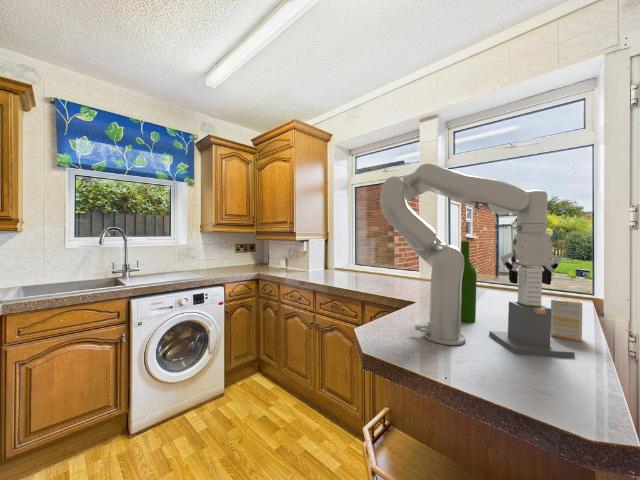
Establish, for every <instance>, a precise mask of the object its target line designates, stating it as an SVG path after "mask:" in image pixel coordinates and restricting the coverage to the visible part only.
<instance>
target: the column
mask: <svg viewBox="0 0 640 480" xmlns="http://www.w3.org/2000/svg"><path fill="white" fill-rule="evenodd" d="M542 271H543V268H542V267H541V266H523V265H520V266H519V267H518V283H517V284H518V285H517V301H516V302H517V304H519V305H522V306H524V307H542V306H541V305H542V291H543V289H542V288H543V287H542V286H543V283H542Z"/></svg>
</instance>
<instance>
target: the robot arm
mask: <svg viewBox="0 0 640 480" xmlns="http://www.w3.org/2000/svg"><path fill="white" fill-rule="evenodd" d="M428 191H429V192H431V193H434V194H437V195H441V196H444V197H446V198H449V199H452V200H455V201H461V202H462V201H463V202H477V203H478V202H479V203H484V204H487V206H488V208H489V210H490V211H491V212H492V213H493V214H496V215H511V214H516V215H517V218H516V219H517V221H516V225H513V227H512V230H513V231H516V233H514V237H513V240H512V244H511V251H510V252H508V253H506V254H504V255H501V256H500V259H501V262H502V263H503V266H504V267H505V268H506V269H507V270H508V280H509V283H511V284H514V285H517V284H518V276H519V271H517V270H518V269H519V266H520V265H523V266H541V268H542V285H543V284H544V285H548V286H551V284H552V283H551V282H552V278H553V277H552V275H553V272H554V271H555V270H556V269H557V268H558V267H559V265H560V262H562V258H561V257H559V256H558V255H555V254H553V246H552V239H551V236H550V234H548V233H547V222H548V193H547V191H545V190H543V189H542V190H540V189H530V190H525V189H524V188H522V187H520V186H517V185H515V184H512V183H510V182H509V183H508V182H505V181H503V180H497V179H494V178H488V177H486V178H485V177H480V176H475V175H468V174H465V173H461V172H458V171H455V170H452V169H449V168H445V167H442V166H439V165H436V164H433V163H422V164H421V165H420V166H418V167H417V168H416V169H415V170H414V172H412V173H409V174H408V175H406V176H404V177H399V176H396V175H395V176H390V177H388V178H387V179H385V180H384V182H383V183H382V185H381V190H380V195H379V206H380V210H381V212H382V215H383V216H384V218H385V220H386V221H387V222H388V223H389V224H390V225H391V226H392V227H393V229H395V230H396V231H397V233H398V234H400V235H401V236H402V238H404V239H405V243H406V244H407V245H408V246H409V248H411V249H412V250H413V251H414V252H415V253H416V254H417V255H418V256H419V257H420V258H421V259H422V260H424V262H426V263H427V264H428V265H429V266H430V267H431V273H430V287H429V288H430V289H429V290H430V291H429V292H430V294H429V295H430V297H429V300H430V303H429V321H426V323H425V324H423V325H422V324H415V325H414V330H415V331H420V333H424V337H425V338H426V339H428V341H430V342H434V343H436V344H441V345H445V346H448V345H449V346H460V345H464V344H465V343H466V341H467V340H466V336H464V335H463V334H461V323H462V322H461V289H462V276H463V270H464V257H463V254H462V253H461V249H459V248H458V247H456V246H455V245H453V244H446V243H445V241H443V240H442V239H441V238H439V237H438V236H437V232H436V231H435V229H434V228H433V226H431V225H430V224H428V222H426V221H425V220H424V219H422V217H420V216H419V215H418V214H417V213H416V211H414V210H413V209H412V208H411V207H410V206H409V204H408V202H407V201H408V200H410V199H413V198H415V197H418V196H420V195H423V194H425V193H427V192H428ZM509 259H510V261H511V263H510V262H509Z"/></svg>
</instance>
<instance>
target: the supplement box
mask: <svg viewBox="0 0 640 480" xmlns="http://www.w3.org/2000/svg"><path fill="white" fill-rule="evenodd" d="M550 308H551V337H554V338H561V339H566V340H570V341H575V342H576V341H577V342H582V339H583V302H582V300H576V299H568V298H559V297H551V299H550Z"/></svg>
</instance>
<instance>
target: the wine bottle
mask: <svg viewBox="0 0 640 480" xmlns="http://www.w3.org/2000/svg"><path fill="white" fill-rule="evenodd" d="M460 244H461V245H460V251H461V253H462V254H463V257H464V270H463V276H462V289H461V323H464V324H473V323H476V316H477V315H476V314H477V282H478V281H477V279H478V278H477V270H476V269H475V267H474V265H473V264H472V262H471V260H470V241H468V240H467V241H465V240H461V243H460Z"/></svg>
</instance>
